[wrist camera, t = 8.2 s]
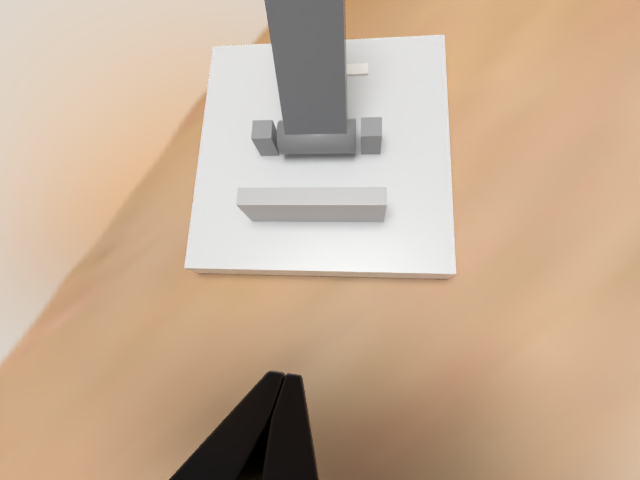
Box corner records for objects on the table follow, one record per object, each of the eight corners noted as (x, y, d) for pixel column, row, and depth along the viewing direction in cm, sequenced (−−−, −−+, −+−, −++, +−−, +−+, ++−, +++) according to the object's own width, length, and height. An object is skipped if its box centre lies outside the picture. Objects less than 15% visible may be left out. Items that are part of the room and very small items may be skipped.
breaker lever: (355, 159, 22) (353, -105, 14) (279, 160, 23) (237, -94, 15) (356, 142, 24) (354, -106, 16) (285, 143, 24) (248, -96, 16)
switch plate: (448, 279, 23) (471, 264, 18) (198, 273, 25) (158, 258, 20) (438, 56, 27) (455, -6, 22) (223, 65, 28) (194, 11, 24)
